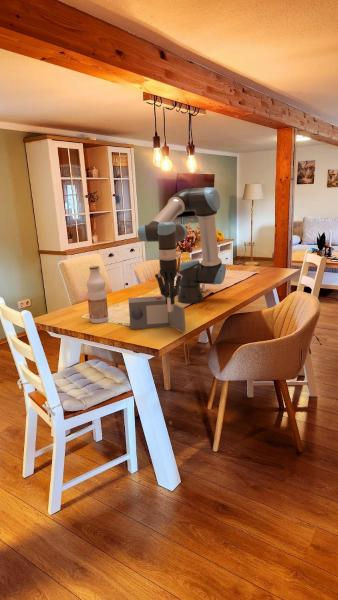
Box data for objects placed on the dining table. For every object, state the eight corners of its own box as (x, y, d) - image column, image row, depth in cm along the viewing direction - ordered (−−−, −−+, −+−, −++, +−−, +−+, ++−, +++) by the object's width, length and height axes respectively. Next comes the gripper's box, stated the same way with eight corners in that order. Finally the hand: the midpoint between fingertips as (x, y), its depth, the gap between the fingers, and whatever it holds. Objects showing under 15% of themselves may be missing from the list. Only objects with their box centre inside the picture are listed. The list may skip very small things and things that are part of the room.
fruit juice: (97, 324, 196) (92, 268, 189) (86, 321, 203) (80, 267, 196) (112, 320, 203) (107, 265, 196) (100, 317, 209) (96, 264, 202)
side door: (168, 326, 188) (167, 301, 185) (171, 325, 189) (170, 301, 186) (182, 333, 178) (181, 307, 175) (185, 332, 178) (184, 306, 175)
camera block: (168, 320, 198) (167, 293, 194) (171, 327, 188) (169, 299, 184) (130, 323, 196) (128, 296, 192) (130, 330, 186) (128, 301, 182)
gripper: (150, 259, 171) (153, 312, 178) (177, 260, 165) (179, 314, 172) (159, 256, 178) (162, 307, 184) (185, 257, 172) (187, 310, 178)
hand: (170, 310), depth 178 cm, fingers closed
